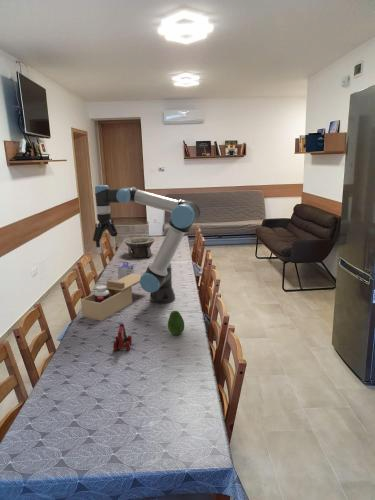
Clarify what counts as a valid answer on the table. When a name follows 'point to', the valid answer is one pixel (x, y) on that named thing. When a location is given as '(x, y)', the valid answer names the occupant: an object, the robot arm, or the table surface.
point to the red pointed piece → (122, 339)
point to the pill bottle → (101, 293)
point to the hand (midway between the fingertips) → (106, 249)
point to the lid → (123, 282)
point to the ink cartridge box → (124, 270)
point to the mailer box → (106, 304)
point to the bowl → (139, 246)
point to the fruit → (175, 323)
